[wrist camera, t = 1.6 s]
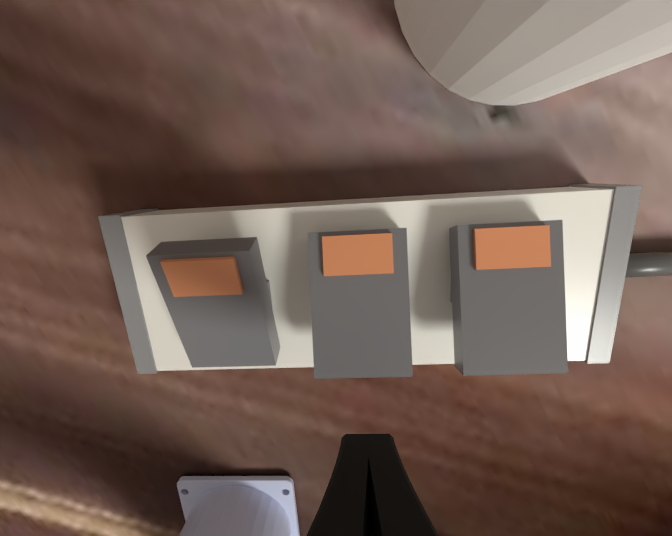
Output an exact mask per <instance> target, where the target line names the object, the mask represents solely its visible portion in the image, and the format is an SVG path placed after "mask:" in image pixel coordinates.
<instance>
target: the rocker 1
mask: <svg viewBox="0 0 672 536" xmlns="http://www.w3.org/2000/svg"><path fill="white" fill-rule="evenodd" d="M146 258H147V260H148V263H149V265H150V267H151V270H152V272H153V275H154V277H155V279H156V282H157V284H158V287H159V289H160V291H161V294H162V296H163V299H164V301H165V303H166V306H167V308H168V311H169V313H170V315H171V318H172V320H173V323H174V325H175V328H176V330H177V332H178V335H179V337H180V340H181V342H182V344H183V347H184V349H185V352H186V354H187V356H188V359H189V361H190V364H191V366H192V368H194V367H235V366H276V363H277V359H278V355H279V351H280V343H279V338H278V333H277V328H276V324H275V319H274V314H273V310H272V305H271V300H270V296H269V291H268V286H267V281H266V277H265V272H264V267H263V263H262V258H261V253H260V249H259V244H258V239H257V237H246V238H226V239H206V240H186V241H167V242H160V243H159V244H158V245H157V246H156V247H155V248H154V249H153V250H152V251H150V252H149V253H148V254H147V255H146Z"/></svg>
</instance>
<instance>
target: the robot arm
mask: <svg viewBox="0 0 672 536" xmlns="http://www.w3.org/2000/svg"><path fill="white" fill-rule="evenodd" d="M177 488H178V493H179V497H180V501H181V505H182V509H183V513H184V517H185V524H184V526H183V529H182V531H181V533H180V535H179V536H300V534H299V525H298V517H297V509H296V500H295V492H294V484H293V480H292V479H291V478H290V477H289V476H182V477H181V478H180V479H179V481H178V482H177ZM285 489H287V490H285ZM371 535H372V536H439V535H438V533H437V532H436V530H435V528H434V526H433V525H432V523H431V521H430V519H429V517H428V515H427V514H426V512H425V510H424V508H423V506H422V504H421V502H420V500H419V498H418V496H417V494H416V492H415V490H414V488H413V486H412V484H411V482H410V480H409V478H408V476H407V473H406V471H405V469H404V467H403V464H402V462H401V459H400V457H399V454H398V452H397V449H396V446H395V443H394V439H393V437H392V436H391V435H390V434H345V435H344V436H343V437H342V440H341V446H340V450H339V454H338V457H337V461H336V464H335V467H334V470H333V473H332V476H331V479H330V482H329V484H328V487H327V489H326V492H325V495H324V497H323V500H322V502H321V505H320V507H319V510H318V512H317V514H316V516H315V519H314V521H313V523H312V525H311V527H310V530H309V532H308V534H307V536H371Z"/></svg>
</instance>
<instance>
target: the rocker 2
mask: <svg viewBox="0 0 672 536" xmlns="http://www.w3.org/2000/svg"><path fill="white" fill-rule="evenodd" d="M308 251H309V273H310V295H311V317H312V339H313V361H314V379H323V378H369V377H413V370H412V346H411V322H410V298H409V275H408V251H407V228H391V229H371V230H352V231H332V232H312V233H308Z"/></svg>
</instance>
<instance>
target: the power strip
mask: <svg viewBox="0 0 672 536" xmlns="http://www.w3.org/2000/svg"><path fill="white" fill-rule="evenodd" d="M641 189H642V185H618V184H591V183H589V184H572V185H569V187H555V188H537V189H520V190H502V191H485V192H467V193H450V194H433V195H415V196H398V197H380V198H363V199H345V200H328V201H310V202H293V203H275V204H258V205H240V206H223V207H205V208H188V209H170V210H158V208H155V209H139V210H133V211H127V212H121V213H115V214H109V215H103V216H98V218H99V222H100V226H101V230H102V234H103V238H104V242H105V246H106V250H107V254H108V258H109V262H110V266H111V270H112V273H113V277H114V281H115V285H116V289H117V293H118V297H119V301H120V305H121V309H122V313H123V317H124V321H125V325H126V329H127V333H128V337H129V341H130V345H131V349H132V353H133V356H134V360H135V364H136V368H137V372H138V374H156V373H157V372H158V371H165V370H207V369H249V368H291V367H314V361H313V339H312V317H311V295H310V273H309V251H308V233H312V232H332V231H352V230H371V229H391V228H407V251H408V275H409V298H410V322H411V346H412V365H416V364H455V362H454V338H453V313H452V288H451V263H450V239H449V228H451V227H454V226H456V225H469V224H489V223H509V222H528V221H548V220H562V222H563V250H564V277H565V304H566V332H567V359H568V361H583V360H584V361H585V362H586V363H609V362H610V357H611V351H612V346H613V340H614V335H615V330H616V324H617V319H618V313H619V308H620V302H621V297H622V292H623V286H624V281H625V277H644V276H669V275H672V251H670V252H647V253H630V248H631V243H632V238H633V232H634V227H635V221H636V216H637V210H638V205H639V200H640V194H641ZM246 237H257V239H258V244H259V249H260V253H261V258H262V263H263V267H264V272H265V277H266V281H267V286H268V291H269V296H270V300H271V305H272V310H273V314H274V319H275V324H276V328H277V333H278V338H279V343H280V351H279V355H278V359H277V363H276V366H235V367H194V368H192V366H191V364H190V361H189V359H188V356H187V354H186V352H185V349H184V347H183V344H182V342H181V340H180V337H179V335H178V332H177V330H176V328H175V325H174V323H173V320H172V318H171V315H170V313H169V311H168V308H167V306H166V303H165V301H164V299H163V296H162V294H161V291H160V289H159V287H158V284H157V282H156V279H155V277H154V275H153V272H152V270H151V267H150V265H149V263H148V260H147V258H146V255H147V254H148V253H149V252H150V251H152V250H153V249H154V248H155V247H156V246H157V245H158V244H159V243H160V242H167V241H186V240H206V239H226V238H246Z"/></svg>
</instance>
